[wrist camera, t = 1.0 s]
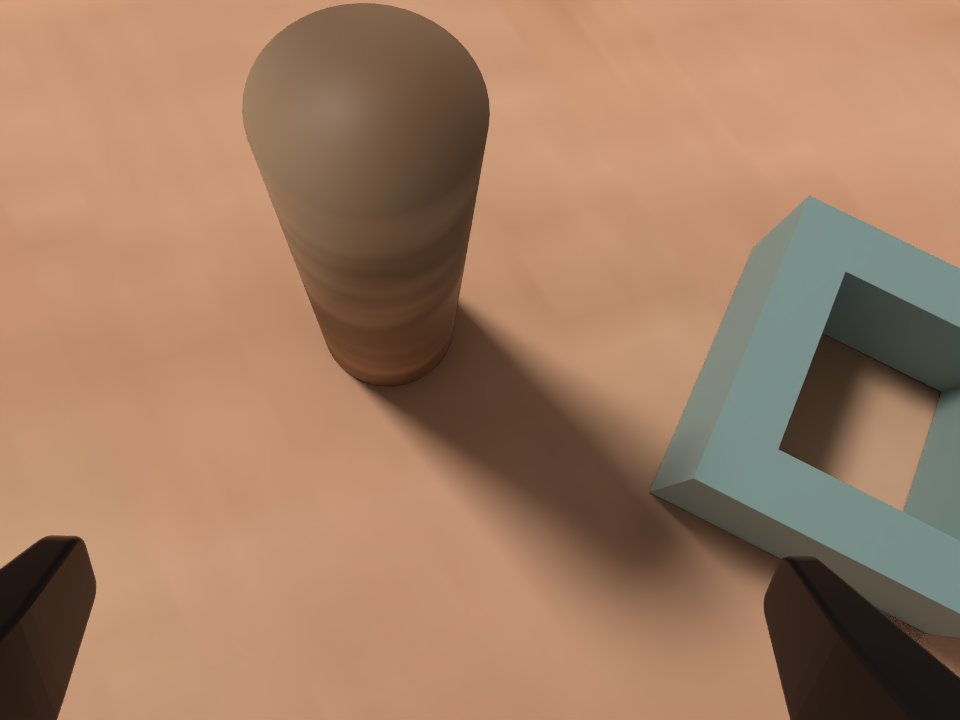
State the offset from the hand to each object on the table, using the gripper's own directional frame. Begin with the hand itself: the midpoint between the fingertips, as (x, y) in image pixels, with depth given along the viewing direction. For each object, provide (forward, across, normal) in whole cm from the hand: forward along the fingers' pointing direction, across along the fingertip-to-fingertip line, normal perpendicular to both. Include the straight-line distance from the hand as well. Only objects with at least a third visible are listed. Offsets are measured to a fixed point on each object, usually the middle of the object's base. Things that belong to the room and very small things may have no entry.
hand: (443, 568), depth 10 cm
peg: (+15, +2, +5) cm, 16 cm away
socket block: (+13, -14, +7) cm, 21 cm away
